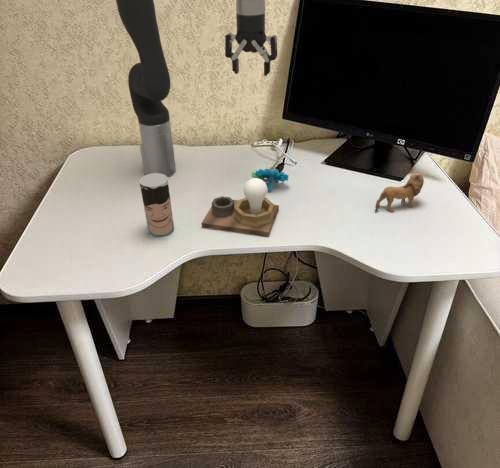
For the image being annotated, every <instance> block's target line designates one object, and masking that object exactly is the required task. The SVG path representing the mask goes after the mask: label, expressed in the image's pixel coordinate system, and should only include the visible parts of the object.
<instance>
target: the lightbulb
mask: <svg viewBox="0 0 500 468" xmlns="http://www.w3.org/2000/svg"><path fill="white" fill-rule="evenodd" d="M243 194H244V196H245V198H247V199H248V201H249V204H250V208H251V214H253V215H258V214H260V212H261V207H262V202H263V200H264V198H267V197H266V196H267V194H268V185H267V182H264V181H263V180H261V179H259V178H253V177H252V178H250V179H249V180H247V181H246V183H245V184H244V186H243Z"/></svg>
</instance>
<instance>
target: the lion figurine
mask: <svg viewBox="0 0 500 468" xmlns="http://www.w3.org/2000/svg"><path fill="white" fill-rule="evenodd" d="M424 182H425V181H424V176H423V174H421V173H419V172H416V173H414V174H413V173H412V174H411V175H409V179H408V180H407V181H406V183H405V184H404V185H400V186H387V187H384V189H383V191H382V192H381V194H380V195H379V198H378V199H377V200H376V203H375V209H374V212H377V211H378V210H379V208H381V205H380V204H381V202H382V201H384V200H385V199H386V202H387V204H386V208H387V210H388V211H389V212H390V213H394V212H395V210H394V209H393V208H392V207H391V206H392V204H393V202H394V201H395V199H396V200H401V201H400V203H401V204H403V205H405V204H406V199H408V202H407V207H408V208H409V209H413V207H414V206H413V201H414V199H415V197H416V196H419V194H420V193H421V191H422V188H423V186H424Z"/></svg>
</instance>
